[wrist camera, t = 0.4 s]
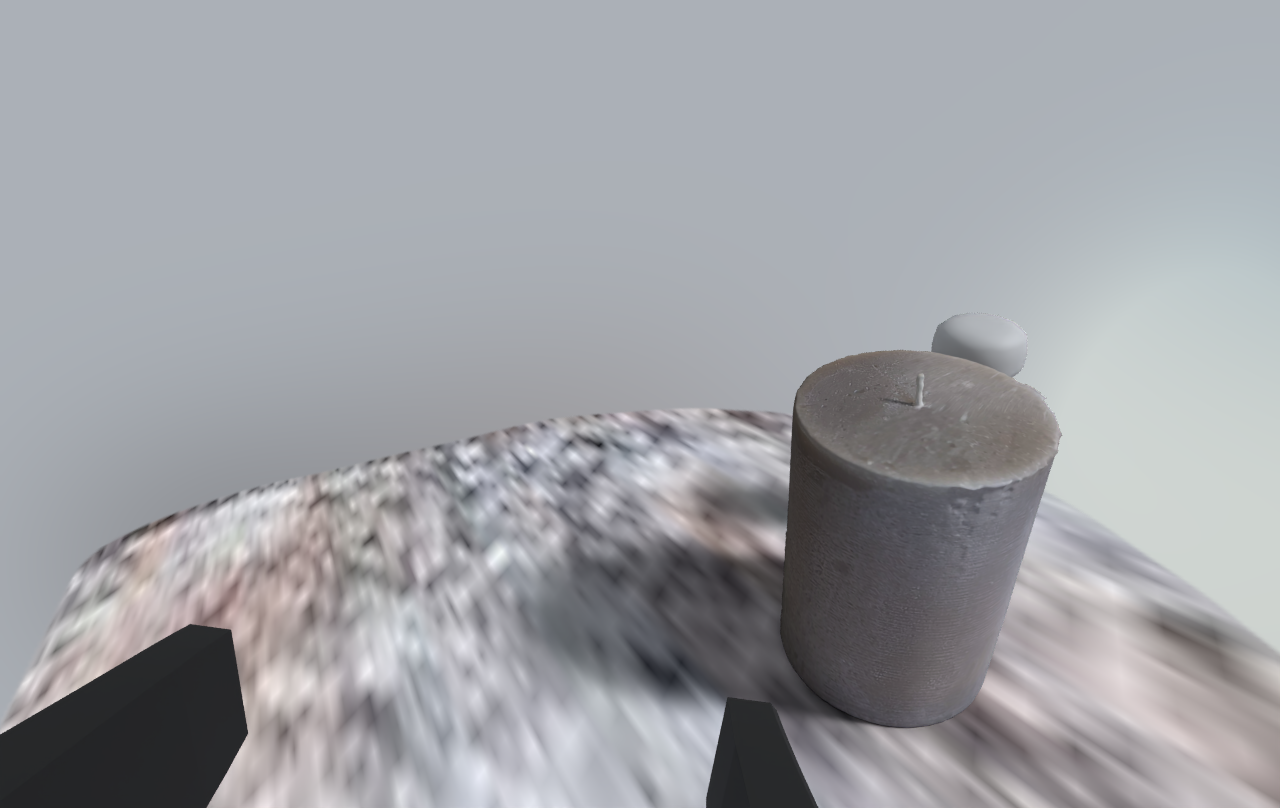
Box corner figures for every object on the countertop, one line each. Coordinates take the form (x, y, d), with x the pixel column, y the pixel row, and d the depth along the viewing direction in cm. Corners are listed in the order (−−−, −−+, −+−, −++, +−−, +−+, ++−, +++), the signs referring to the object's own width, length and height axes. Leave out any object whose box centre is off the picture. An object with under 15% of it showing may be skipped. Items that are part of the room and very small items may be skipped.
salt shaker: (875, 533, 39) (901, 333, 33) (909, 481, 43) (939, 292, 36) (981, 573, 36) (1035, 360, 29) (1008, 514, 40) (1061, 312, 33)
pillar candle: (750, 592, 36) (752, 347, 28) (910, 548, 38) (954, 305, 30) (841, 760, 28) (880, 483, 20) (1039, 695, 30) (1146, 416, 22)
